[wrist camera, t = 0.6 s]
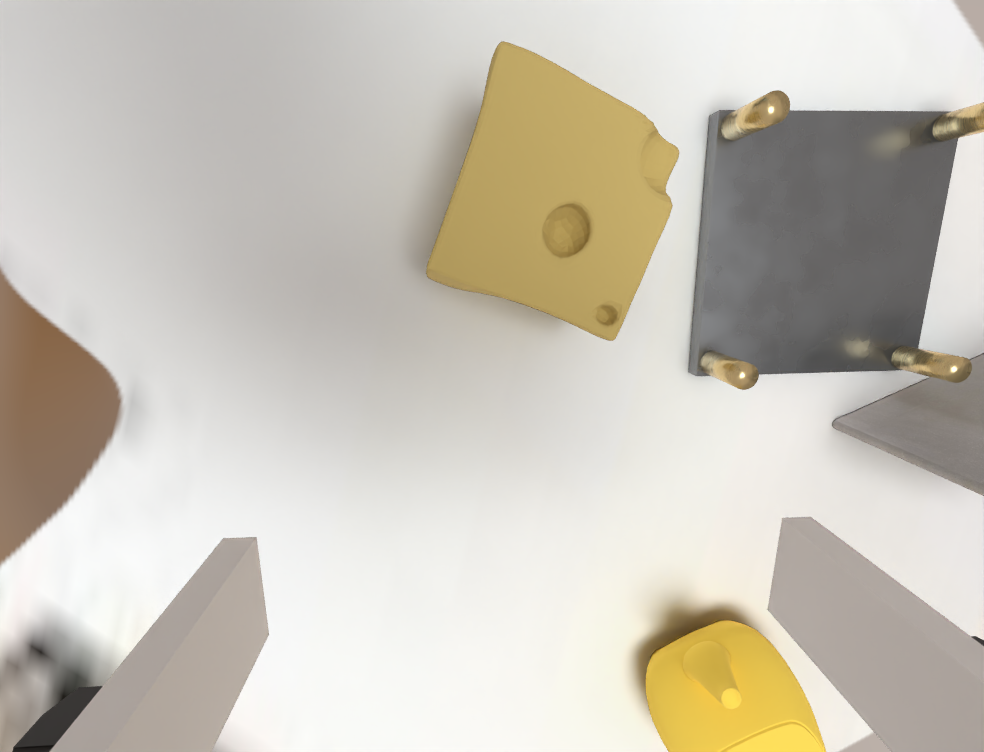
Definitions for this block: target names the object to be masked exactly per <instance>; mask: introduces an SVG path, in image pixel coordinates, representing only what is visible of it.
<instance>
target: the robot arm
mask: <svg viewBox="0 0 984 752" xmlns="http://www.w3.org/2000/svg"><path fill="white" fill-rule="evenodd" d="M768 611H769V612H770V613H771V614H772V615H773V616H774V618H775V619H776V620H777V621H778V622H779V623H780V624H781V626H782V627H783V628H784V629H785V630H786V631H787V632H788V634H789V635H790V636H791V637H792V638H793V639H794V641H795V642H796V643H797V644H798V645H799V646H800V647H801V649H802V650H803V651H804V652H805V653H806V654H807V655H808V657H809V658H810V659H811V660H812V661H813V662H814V664H815V665H816V666H817V667H818V668H819V669H820V670H821V672H822V673H823V674H824V675H825V676H826V677H827V678H828V680H829V681H830V682H831V683H832V684H833V685H834V687H835V688H836V689H837V690H838V691H839V692H840V693H841V695H842V696H843V697H844V698H845V699H846V700H847V701H848V703H849V704H850V705H851V706H852V707H853V708H854V709H855V711H856V712H857V713H858V714H859V715H860V716H861V718H862V719H863V720H864V721H865V722H866V723H867V724H868V726H869V727H870V728H871V729H872V730H873V731H874V732H875V734H876V735H877V736H878V737H879V738H880V739H881V740H882V742H883V743H884V744H885V745H886V746H887V747H888V748H889V750H890V751H891V752H984V640H982V639H980V638H978V637H976V636H972V637H971V636H969V635H968V634H967V633H965V632H964V631H963V630H961V629H960V628H959V627H957V626H956V625H955V624H953V623H952V622H951V621H949V620H948V619H947V618H945V617H944V616H943V615H941V614H940V613H939V612H937V611H936V610H935V609H933V608H932V607H931V606H929V605H928V604H927V603H925V602H924V601H923V600H921V599H920V598H919V597H917V596H916V595H915V594H913V593H912V592H911V591H909V590H908V589H907V588H905V587H904V586H903V585H901V584H900V583H898V582H897V581H896V580H894V579H893V578H892V577H890V576H889V575H888V574H886V573H885V572H884V571H882V570H881V569H880V568H878V567H877V566H876V565H874V564H873V563H872V562H870V561H869V560H868V559H866V558H865V557H864V556H862V555H861V554H860V553H858V552H857V551H856V550H854V549H853V548H852V547H850V546H849V545H848V544H846V543H845V542H844V541H842V540H841V539H840V538H838V537H837V536H836V535H834V534H833V533H832V532H830V531H829V530H828V529H826V528H825V527H824V526H822V525H821V524H820V523H818V522H817V521H816V520H814V519H813V518H812V517H795V518H782V523H781V529H780V536H779V542H778V548H777V554H776V561H775V567H774V573H773V579H772V586H771V592H770V598H769V604H768ZM268 635H269V631H268V623H267V615H266V607H265V600H264V592H263V584H262V576H261V568H260V561H259V553H258V545H257V537H246V538H223V539H222V541H221V542H220V543H219V544H218V546H217V547H216V548H215V549H214V550H213V552H212V553H211V554H210V555H209V557H208V558H207V559H206V560H205V561H204V563H203V564H202V565H201V566H200V568H199V569H198V570H197V571H196V573H195V574H194V575H193V576H192V577H191V579H190V580H189V581H188V582H187V584H186V585H185V586H184V587H183V588H182V590H181V591H180V592H179V593H178V595H177V596H176V597H175V598H174V600H173V601H172V602H171V603H170V604H169V606H168V607H167V608H166V609H165V611H164V612H163V613H162V614H161V615H160V617H159V618H158V619H157V620H156V622H155V623H154V624H153V625H152V627H151V628H150V629H149V630H148V631H147V633H146V634H145V635H144V636H143V638H142V639H141V640H140V641H139V642H138V644H137V645H136V646H135V647H134V649H133V650H132V651H131V652H130V654H129V655H128V656H127V657H126V658H125V660H124V661H123V662H122V663H121V665H120V666H119V667H118V668H117V669H116V671H115V672H114V673H113V674H112V676H111V677H110V678H109V679H108V681H107V682H106V683H105V684H104V685H103V686H97V687H79V688H78V689H76V690H75V691H74V692H72V693H71V694H70V695H68V696H67V697H66V698H64V699H63V700H62V701H60V702H59V703H58V704H56V705H55V706H54V707H52V708H51V709H50V710H48V711H47V712H46V713H44V714H43V715H42V716H41V717H40V718H39V719H38V721H37V722H36V723H35V724H34V725H33V726H32V727H31V728H30V730H29V731H28V732H27V733H26V734H25V735H24V736H23V737H22V738H21V740H20V741H19V742H18V743H17V744H16V745H15V746H14V747H13V752H211V751H212V749H213V747H214V745H215V743H216V741H217V739H218V737H219V735H220V733H221V731H222V729H223V727H224V725H225V723H226V721H227V719H228V717H229V715H230V713H231V711H232V709H233V707H234V705H235V703H236V700H237V698H238V696H239V694H240V692H241V690H242V688H243V686H244V684H245V682H246V680H247V678H248V676H249V674H250V672H251V670H252V668H253V666H254V664H255V662H256V660H257V658H258V656H259V654H260V652H261V650H262V648H263V645H264V643H265V641H266V639H267V637H268Z"/></svg>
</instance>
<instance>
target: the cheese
mask: <svg viewBox="0 0 984 752" xmlns="http://www.w3.org/2000/svg"><path fill="white" fill-rule="evenodd" d="M678 156H679V150H678V148H677V147H676V146H674V145H673V144H671V143H669V142H668V141H666V140H665V139H664V138H662V137H661V135H660V134H659V133H658V131H657V129H656V128H655V126H654V124H653V122H651V121H650V120H649V119H648V118H647V117H646V116H645V115H643V114H642V113H640V112H639V111H637V110H636V109H634V108H633V107H631V106H629V105H627V104H625V103H623V102H622V101H620V100H618V99H616V98H614V97H612V96H611V95H609V94H607V93H605V92H603V91H601V90H600V89H598V88H596V87H594V86H592V85H591V84H589V83H587V82H585V81H584V80H582V79H580V78H579V77H577V76H576V75H574V74H572V73H571V72H569V71H567V70H565V69H564V68H562V67H560V66H558V65H557V64H555V63H553V62H551V61H549V60H547V59H545V58H543V57H541V56H539V55H537V54H535V53H533V52H531V51H529V50H526V49H524V48H521V47H518V46H516V45H513V44H510V43H507V42H501V43H499V45H498V46H497V48H496V50H495V52H494V54H493V57H492V60H491V64H490V68H489V72H488V77H487V82H486V87H485V92H484V97H483V102H482V106H481V110H480V113H479V117H478V121H477V124H476V127H475V131H474V134H473V137H472V140H471V143H470V146H469V149H468V152H467V155H466V158H465V160H464V163H463V166H462V169H461V172H460V175H459V177H458V180H457V183H456V186H455V189H454V192H453V194H452V197H451V200H450V203H449V206H448V209H447V212H446V214H445V217H444V220H443V223H442V225H441V228H440V231H439V234H438V237H437V239H436V242H435V245H434V247H433V250H432V253H431V255H430V258H429V261H428V264H427V270H426V274H427V277H428V278H430V279H432V280H434V281H436V282H439V283H441V284H444V285H447V286H450V287H453V288H456V289H461V290H465V291H471V292H477V293H483V294H488V295H493V296H497V297H501V298H505V299H508V300H512V301H515V302H518V303H521V304H523V305H526V306H529V307H532V308H535V309H537V310H540V311H542V312H545V313H547V314H550V315H552V316H555V317H557V318H559V319H562V320H564V321H566V322H568V323H570V324H572V325H575V326H577V327H579V328H581V329H583V330H585V331H587V332H589V333H591V334H593V335H595V336H598V337H600V338H603V339H606V340H609V341H613V340H614V339H615V338H616V336H617V334H618V332H619V330H620V328H621V326H622V324H623V321H624V319H625V317H626V314H627V312H628V309H629V307H630V305H631V302H632V300H633V298H634V295H635V293H636V291H637V289H638V287H639V285H640V282H641V280H642V277H643V275H644V273H645V270H646V268H647V265H648V263H649V261H650V258H651V256H652V253H653V251H654V249H655V247H656V244H657V242H658V240H659V238H660V236H661V234H662V231H663V229H664V227H665V225H666V222H667V220H668V218H669V216H670V212H671V209H672V203H671V199H670V197H669V196H668V195H667V193H666V184H667V181H668V179H669V176H670V174H671V172H672V170H673V168H674V166H675V164H676V162H677V159H678Z"/></svg>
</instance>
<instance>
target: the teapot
mask: <svg viewBox="0 0 984 752" xmlns="http://www.w3.org/2000/svg"><path fill="white" fill-rule="evenodd" d="M646 695H647V701H648V706H649V710H650V714H651V717H652V720H653V722H654V725H655V727H656V729H657V731H658V733H659V735H660V738H661V739H662V741H663V743H664V745H665V746H666V748H667V750H668V751H669V752H826V750H825V746H824V743H823V740H822V737H821V734H820V731H819V728H818V725H817V722H816V719H815V717H814V714H813V711H812V709H811V706H810V704H809V702H808V700H807V698H806V696H805V694H804V692H803V690H802V688H801V686H800V684H799V682H798V681H797V679H796V677H795V676H794V674H793V673H792V671H791V669H790V668H789V666H788V665H787V663H786V662H785V660H784V659H783V658H782V656H781V655H780V654H779V652H778V651H777V650H776V649H775V647H774V646H773V645H772V644H771V643H770V642H769V641H768V640H767V639H766V638H765V637H764V636H763V635H761V634H760V633H759V632H758V631H756V630H755V629H753V628H751V627H749V626H747V625H745V624H742V623H739V622H735V621H730V620H719V621H717V622H715V623H713V624H711V625H708V626H706V627H703V628H701V629H698V630H696V631H694V632H691V633H689V634H687V635H685V636H683V637H681V638H679V639H677V640H675V641H674V642H672V643H670V644H668V645H666V646H665V647H663V648H660V649H658V650H656V651H655V652H654V653H653V654H652V655H651V658H650V661H649V664H648V668H647V673H646Z"/></svg>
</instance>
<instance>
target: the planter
mask: <svg viewBox="0 0 984 752" xmlns="http://www.w3.org/2000/svg"><path fill="white" fill-rule="evenodd" d="M970 362H971V364H972V371H971V373H970V375H969V377H968V378H967V379H966V380H964V381H962V382H960V383H953V382H949V381H946V380H942V379H938V378H934V377H930V378H928V379H926V380H923V381H921V382H919V383H917V384H915V385H912V386H910V387H908V388H906V389H903V390H901V391H899V392H897V393H895V394H892V395H890V396H888V397H886V398H883V399H881V400H879V401H877V402H874V403H872V404H870V405H868V406H865V407H863V408H861V409H859V410H856V411H854V412H852V413H850V414H847V415H845V416H842V417H840V418H837V419H836V420H835V421H834V422H833V427H834V428H835V429H837V430H840V431H842V432H844V433H846V434H848V435H851V436H853V437H855V438H857V439H859V440H862V441H864V442H866V443H868V444H870V445H873V446H875V447H877V448H879V449H881V450H884V451H886V452H888V453H890V454H893V455H895V456H897V457H899V458H901V459H904V460H906V461H908V462H910V463H912V464H915V465H917V466H919V467H921V468H923V469H926V470H928V471H930V472H932V473H934V474H937V475H939V476H941V477H943V478H945V479H948V480H950V481H952V482H954V483H956V484H959V485H961V486H963V487H965V488H967V489H970V490H972V491H974V492H976V493H978V494H981V495H983V496H984V354H982V355H980V356H978V357H975V358H973V359H971V360H970Z"/></svg>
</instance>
